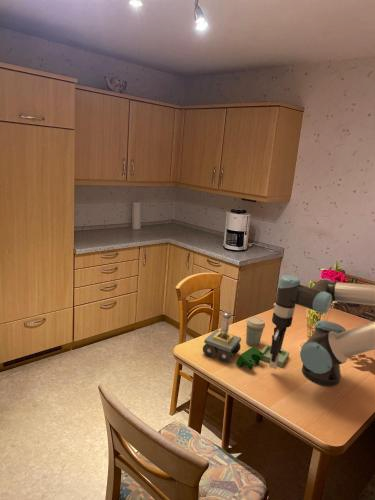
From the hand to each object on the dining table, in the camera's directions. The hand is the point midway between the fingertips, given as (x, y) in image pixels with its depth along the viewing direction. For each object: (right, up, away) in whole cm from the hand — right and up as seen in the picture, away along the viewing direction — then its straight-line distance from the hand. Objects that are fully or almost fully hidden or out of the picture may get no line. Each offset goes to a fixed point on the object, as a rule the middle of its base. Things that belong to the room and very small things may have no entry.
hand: (272, 367), depth 151 cm
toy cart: (-20, +2, +11) cm, 23 cm away
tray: (+3, 0, +12) cm, 13 cm away
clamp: (-9, -1, +5) cm, 10 cm away
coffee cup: (-4, +4, +23) cm, 23 cm away
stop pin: (-19, +9, +9) cm, 23 cm away
